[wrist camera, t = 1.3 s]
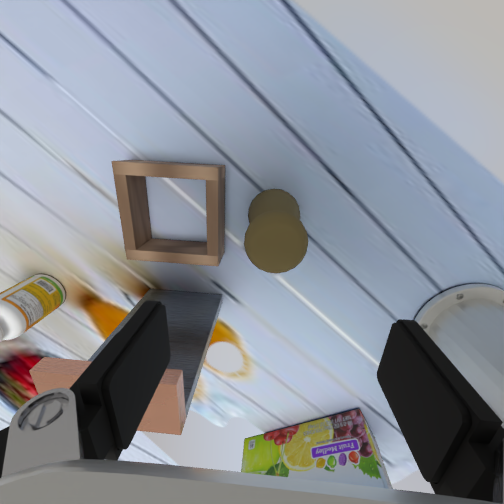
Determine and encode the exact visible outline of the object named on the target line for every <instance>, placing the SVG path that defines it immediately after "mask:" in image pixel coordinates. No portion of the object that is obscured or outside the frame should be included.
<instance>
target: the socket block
mask: <svg viewBox="0 0 504 504" xmlns="http://www.w3.org/2000/svg"><path fill="white" fill-rule="evenodd" d="M112 167H113V174H114V180H115V186H116V193H117V199H118V206H119V212H120V219H121V225H122V231H123V238H124V244H125V251H126V257H127V259H130V260H143V261H156V262H169V263H182V264H195V265H209V266H219V263H220V261H221V259H222V257H223V254H224V234H225V165H211V164H194V163H178V162H161V161H144V160H123V161H112ZM145 176H151V177H167V178H183V179H200V180H206V210H207V242H195V241H181V240H167V239H153V238H152V236H151V227H150V217H149V208H148V199H147V190H146V181H145Z"/></svg>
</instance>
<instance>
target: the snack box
mask: <svg viewBox="0 0 504 504" xmlns="http://www.w3.org/2000/svg"><path fill="white" fill-rule="evenodd" d="M241 472H243V473H252V474H261V475H270V476H280V477H289V478H298V479H307V480H316V481H325V482H335V483H344V484H352V485H361V486H370V487H378V488H387V489H393V488H392V485H391V483H390V480H389V477H388V474H387V471H386V468H385V466H384V463H383V460H382V457H381V454H380V451H379V448H378V445H377V443H376V440H375V437H374V436H373V434H372V432H371V430H370V428H369V426H368V424H367V423H366V421H365V419H364V417H363V415H362V413H361V411H360V409H356V410H352V411H348V412H345V413H341V414H337V415H333V416H330V417H326V418H322V419H318V420H314V421H311V422H307V423H303V424H299V425H295V426H291V427H287V428H284V429H280V430H276V431H272V432H268V433H265V434H261V435H257V436H253V437H249V438H245V440H244V450H243V459H242V469H241Z"/></svg>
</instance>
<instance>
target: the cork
mask: <svg viewBox="0 0 504 504" xmlns="http://www.w3.org/2000/svg"><path fill="white" fill-rule="evenodd" d="M248 218H249V223H250V224H249V227H248V229H247V231H246V233H245V241H244V246H245V250H246V253H247V256H248V257H249V259H250V260H251V262H252V263H253V264H254V265H255V266H257V267H258V268H259V269H261V270H263V271H266V272H270V273H281V272H287V271H289V270H291V269H293V268H295V267H296V266H297V265H298V264H299V263H300V262H301V261H302V259H303V258H304V256H305V254H306V251H307V246H308V236H307V232H306V230H305V228H304V226H303V224H302V222H301V221H300V211H299V205H298V204H297V202H296V200H295V198H294V197H293V196H292V195H290V194H289V193H288V192H285V191H283V190H280V189H270V190H265V191H263V192H262V193H260V194H258V195H257V196H256V197H255V198H254V199H253V201H252V202H251V205H250V207H249V213H248Z"/></svg>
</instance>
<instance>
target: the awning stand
mask: <svg viewBox="0 0 504 504" xmlns="http://www.w3.org/2000/svg"><path fill="white" fill-rule="evenodd" d="M146 300H150V301H160V302H161V303H162V305H165V307H166V315H167V324H168V334H169V343H170V352H171V357H170V362H169V364H168V366H167V368H166V370H165V372H164V374H163V377H162V379H161V381H160V383H159V385H158V387H157V389H156V391H155V393H154V395H153V397H152V399H151V401H150V404H149V406H148V408H147V410H146V412H145V414H144V416H143V418H142V420H141V422H140V424H139V426H138V429H137V431H147V432H157V433H166V434H176V435H181V433H182V430H183V427H184V424H185V420H186V417H187V414H188V411H189V408H190V404H191V401H192V398H193V395H194V392H195V388H196V385H197V382H198V379H199V375H200V372H201V369H202V366H203V363H204V359H205V356H206V353H207V350H208V347H209V343H210V340H211V337H212V334H213V331H214V327H215V324H216V321H217V318H218V315H219V311H220V308H221V305H222V294H209V293H197V292H185V291H172V290H160V289H150V290H149V291H148V292H147V293H146V294H145V295H144V297H143V298H142V299H141V300H140V301H139V302H138V303H137V305H136V306H135V307H134V308H133V309H132V310H131V312H130V313H129V314H128V315H127V316H126V317H125V318H124V320H123V321H122V322H121V323H120V324H119V325H118V327H117V328H116V329H115V330H114V331H113V332H112V334H111V335H110V336H109V337H108V338H107V339H106V340H105V342H104V343H103V344H102V345H101V346H100V347H99V349H98V350H97V351H96V352H95V353H94V354H93V355H92V357H91V358H90V359H89V360H88V361H81V360H70V359H60V358H49V357H44V358H43V359H42V360H41V361H40V362H38V363H37V364H36V365H35V366H34V367H33V368H32V369H31V370H30V374H31V376H32V379H33V381H34V384H35V387H36V389H37V392H38V394H41V393H43V392H45V391H48V390H51V389H55V388H67V389H70V387H71V386H72V385H73V384H74V383H75V381H76V380H77V379H78V378H79V377H80V376H81V374H82V373H83V372H84V371H85V370H86V369H87V367H88V366H89V365H90V364H91V363H92V361H93V360H94V359H95V358H96V357H97V356H98V354H99V353H100V352H101V351H102V350H103V348H104V347H105V346H106V345H107V344H108V343H109V341H110V340H111V339H112V338H113V337H114V336H115V334H117V333H118V332H119V331H120V330H121V329H122V328H123V327H124V326H125V324H126V323H127V322H128V321H129V320H130V318H131V317H132V316H133V315H134V314H135V312H136V311H137V310H138V309H139V308H140V306H141V305H142V304H143V303H144V302H145V301H146Z"/></svg>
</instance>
